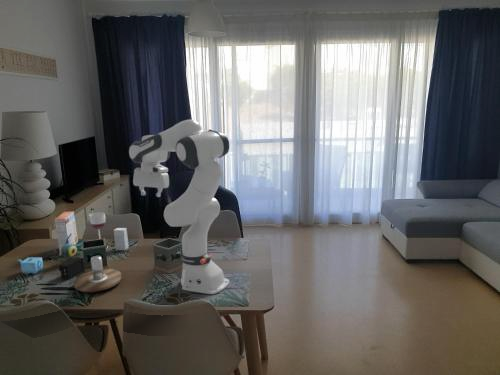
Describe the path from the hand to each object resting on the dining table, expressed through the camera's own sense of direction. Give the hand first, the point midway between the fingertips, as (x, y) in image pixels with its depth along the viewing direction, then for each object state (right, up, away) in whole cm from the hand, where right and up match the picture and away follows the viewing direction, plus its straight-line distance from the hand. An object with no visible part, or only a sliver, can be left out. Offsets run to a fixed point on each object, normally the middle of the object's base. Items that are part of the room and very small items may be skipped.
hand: (150, 196), depth 184 cm
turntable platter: (-20, -39, -15) cm, 46 cm away
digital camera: (-37, -38, -4) cm, 53 cm away
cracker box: (-53, -32, +26) cm, 67 cm away
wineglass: (-37, -31, +29) cm, 56 cm away
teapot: (-59, -38, -1) cm, 70 cm away
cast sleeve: (-20, -37, -16) cm, 45 cm away
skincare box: (-23, -31, +26) cm, 47 cm away
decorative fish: (-44, -35, +11) cm, 57 cm away
